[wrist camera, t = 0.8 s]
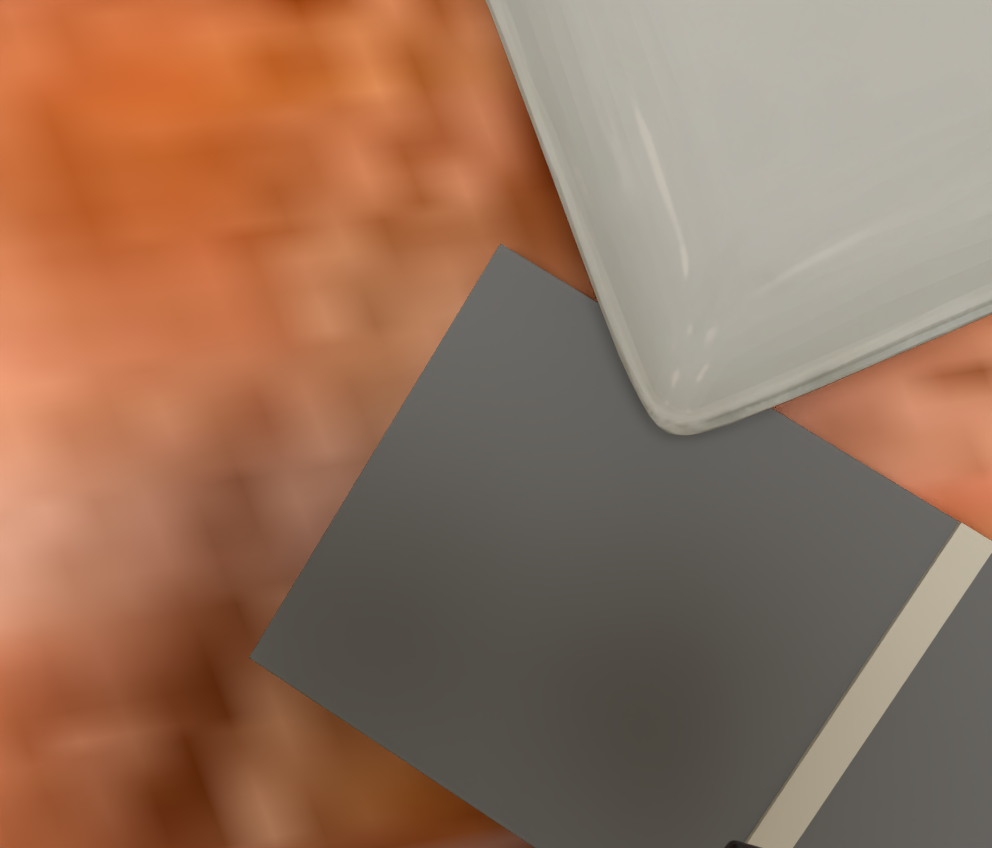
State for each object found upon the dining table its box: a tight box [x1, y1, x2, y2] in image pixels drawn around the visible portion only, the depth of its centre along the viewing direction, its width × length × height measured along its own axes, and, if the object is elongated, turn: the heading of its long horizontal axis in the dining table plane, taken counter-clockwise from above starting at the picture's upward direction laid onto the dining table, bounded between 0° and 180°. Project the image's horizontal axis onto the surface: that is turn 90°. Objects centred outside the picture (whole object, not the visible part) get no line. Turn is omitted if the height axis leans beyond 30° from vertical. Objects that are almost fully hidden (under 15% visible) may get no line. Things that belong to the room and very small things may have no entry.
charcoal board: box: [249, 244, 992, 848], centre depth 24 cm, size 13×20×2 cm, turn 58°
